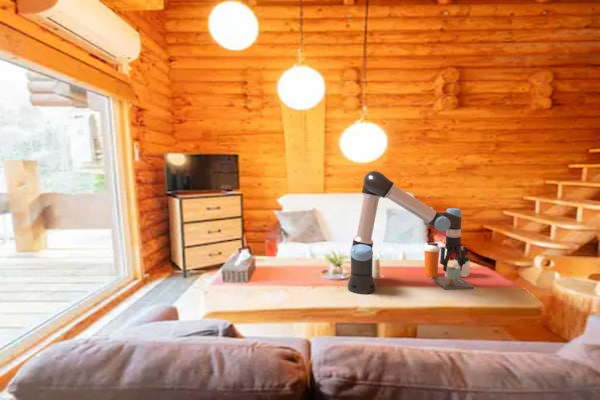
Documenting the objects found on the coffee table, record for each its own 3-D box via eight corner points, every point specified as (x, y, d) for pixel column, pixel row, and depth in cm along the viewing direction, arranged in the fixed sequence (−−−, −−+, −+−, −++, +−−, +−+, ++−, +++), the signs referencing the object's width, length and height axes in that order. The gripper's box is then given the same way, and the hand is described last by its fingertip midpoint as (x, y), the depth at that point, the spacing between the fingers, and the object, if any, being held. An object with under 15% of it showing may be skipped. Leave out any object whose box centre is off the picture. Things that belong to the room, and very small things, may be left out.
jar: (465, 278, 193) (466, 258, 191) (451, 275, 198) (452, 256, 197) (470, 274, 199) (471, 255, 198) (457, 271, 205) (457, 253, 203)
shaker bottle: (436, 278, 193) (437, 245, 191) (421, 275, 198) (422, 243, 196) (440, 274, 200) (441, 242, 198) (425, 271, 206) (426, 240, 204)
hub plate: (444, 289, 175) (444, 279, 175) (431, 279, 191) (432, 270, 191) (473, 289, 176) (474, 279, 175) (458, 279, 192) (459, 269, 191)
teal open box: (444, 275, 186) (444, 266, 185) (455, 275, 186) (455, 266, 185) (449, 279, 180) (449, 269, 179) (460, 278, 180) (460, 269, 179)
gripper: (439, 238, 177) (438, 279, 179) (474, 237, 177) (472, 278, 179) (433, 235, 184) (432, 274, 187) (466, 234, 185) (465, 274, 187)
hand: (452, 276), depth 183 cm, fingers closed on teal open box, 6 cm apart
